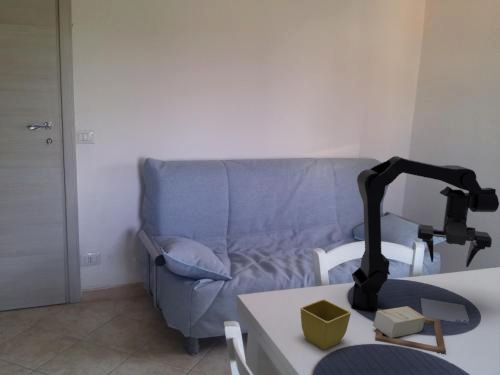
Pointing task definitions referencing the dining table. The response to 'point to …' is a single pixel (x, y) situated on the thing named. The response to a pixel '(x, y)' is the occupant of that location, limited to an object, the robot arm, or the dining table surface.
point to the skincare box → (398, 321)
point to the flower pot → (324, 323)
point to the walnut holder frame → (439, 339)
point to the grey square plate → (443, 310)
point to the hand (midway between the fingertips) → (449, 264)
